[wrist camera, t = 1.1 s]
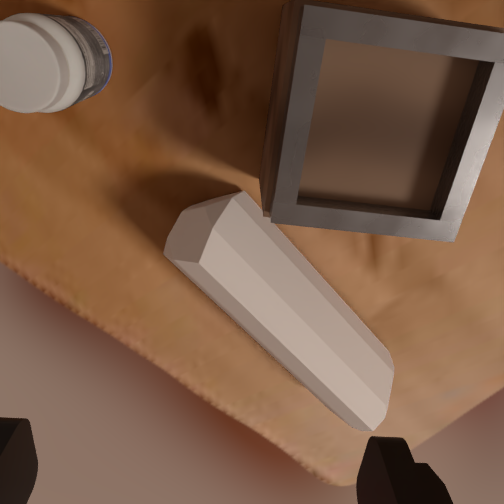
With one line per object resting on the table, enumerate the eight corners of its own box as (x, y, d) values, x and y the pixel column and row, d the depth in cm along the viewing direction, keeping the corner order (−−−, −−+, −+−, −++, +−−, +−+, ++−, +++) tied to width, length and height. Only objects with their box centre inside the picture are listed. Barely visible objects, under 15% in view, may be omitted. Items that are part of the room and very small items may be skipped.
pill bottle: (46, 97, 28) (-23, 121, 21) (30, 15, 26) (-55, 10, 19) (119, 97, 29) (76, 121, 21) (108, 15, 26) (56, 10, 19)
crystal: (434, 381, 36) (244, 163, 27) (382, 453, 34) (164, 247, 26) (375, 352, 42) (207, 171, 34) (329, 412, 41) (142, 237, 32)
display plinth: (282, 5, 26) (298, -5, 19) (456, 30, 27) (539, 30, 20) (259, 179, 31) (264, 227, 24) (406, 196, 32) (457, 247, 24)
